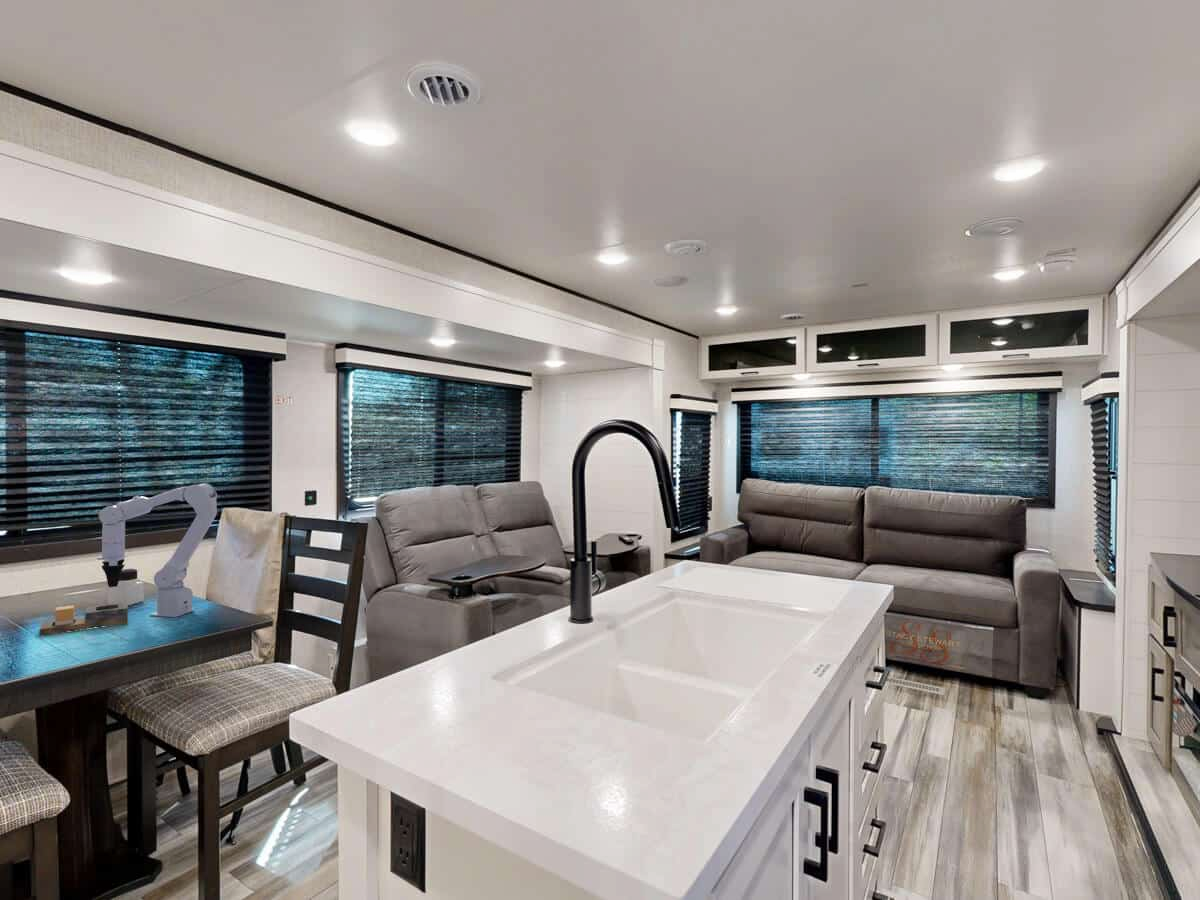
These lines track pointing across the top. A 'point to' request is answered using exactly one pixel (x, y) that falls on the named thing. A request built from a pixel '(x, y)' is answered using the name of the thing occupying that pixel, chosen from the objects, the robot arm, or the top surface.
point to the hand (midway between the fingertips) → (113, 584)
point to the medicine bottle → (127, 589)
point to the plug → (64, 615)
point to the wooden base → (91, 619)
